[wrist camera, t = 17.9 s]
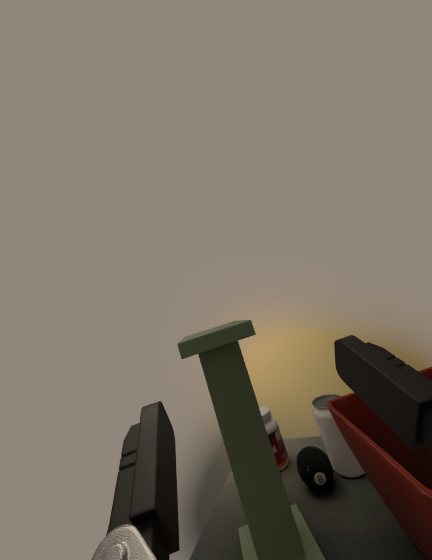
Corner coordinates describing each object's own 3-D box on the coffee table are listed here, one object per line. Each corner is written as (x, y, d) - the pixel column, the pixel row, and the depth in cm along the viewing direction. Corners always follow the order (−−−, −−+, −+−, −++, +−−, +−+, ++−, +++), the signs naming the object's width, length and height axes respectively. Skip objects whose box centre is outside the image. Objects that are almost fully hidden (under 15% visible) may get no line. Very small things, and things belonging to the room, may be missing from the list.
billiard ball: (330, 469, 44) (318, 436, 45) (344, 493, 38) (330, 455, 39) (299, 478, 44) (288, 444, 45) (309, 503, 39) (296, 464, 39)
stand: (344, 600, 26) (250, 319, 31) (259, 642, 24) (177, 343, 29) (294, 503, 39) (235, 320, 44) (238, 527, 38) (184, 337, 43)
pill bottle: (257, 473, 49) (241, 419, 51) (266, 454, 55) (251, 405, 56) (285, 475, 46) (267, 417, 48) (292, 454, 52) (275, 403, 53)
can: (376, 462, 42) (351, 395, 44) (359, 485, 39) (332, 411, 41) (343, 451, 48) (322, 391, 50) (325, 470, 44) (303, 405, 46)
